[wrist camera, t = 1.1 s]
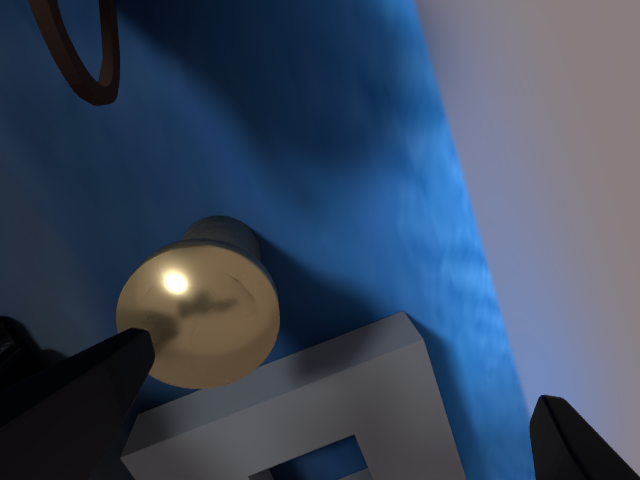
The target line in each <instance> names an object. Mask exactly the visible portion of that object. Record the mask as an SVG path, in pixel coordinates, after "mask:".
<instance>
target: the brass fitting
mask: <svg viewBox="0 0 640 480" xmlns="http://www.w3.org/2000/svg"><path fill="white" fill-rule="evenodd" d="M279 324H280V314H279V302H278V295H277V290H276V287H275V285H274V282H273V280H272V278H271V276H270V274H269V273H268V271H267V270H266V269H265V267H264V266H263V265H262V264H261V263H260V246H259V243H258V240H257V238H256V236H255V234H254V233H253V231H252V230H251V229H250V228H249V227H248V226H247V225H245V224H244V223H242V222H241V221H239V220H237V219H235V218H232V217H228V216H210V217H206V218H203V219H201V220H199V221H197V222H196V223H194V224H193V225H192V226H191V227H190V228H189V229H188V230H187V231H186V232H185V234H184V235H183V237H182V239H181V240H180V241H178V242H174V243H171V244H169V245H167V246H165V247H162V248H161V249H159V250H157V251H156V252H154V253H153V254H151V255H150V256H149V257H148V258H147V259H145V260H144V262H143V263H142V264H141V265H140V266H139V267H138V268H137V270H136V271H135V272H134V273H133V275H132V276H131V277H130V279H129V280H128V282H127V283H126V285H125V286H124V288H123V290H122V292H121V294H120V297H119V301H118V304H117V311H116V325H117V330H118V334H119V333H121V332H123V331H125V330H127V329H129V328H132V327H136V328H142V329H147V330H148V331H149V332H150V334H151V338H152V342H153V346H154V351H155V361H154V364H153V366H152V368H151V370H150V372H149V375H151V376H152V377H154V378H156V379H158V380H160V381H162V382H165V383H168V384H170V385H173V386H178V387H182V388H190V389H207V388H215V387H220V386H224V385H227V384H230V383H233V382H235V381H237V380H240V379H242V378H243V377H245V376H247V375H248V374H250V373H251V372H252V371H254V370H255V369H256V368H257V367H258V366H259V365H260V364H261V363H262V362H263V361H264V360H265V359H266V357H267V356H268V355H269V353H270V352H271V350H272V348H273V346H274V344H275V341H276V339H277V335H278V331H279Z"/></svg>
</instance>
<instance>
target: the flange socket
mask: <svg viewBox="0 0 640 480" xmlns="http://www.w3.org/2000/svg"><path fill="white" fill-rule="evenodd" d="M351 435H355V437H356V440H357V442H358V444H359V447H360V449H361V451H362V454H363V456H364V459H365V461H366V463H367V466H368V468H366V469H363V470H361V471H358V472H356V473H353V474H351V475H348V476H346V477H343V478H341V479H338V480H466V476H465V473H464V470H463V467H462V463H461V460H460V457H459V454H458V450H457V447H456V444H455V440H454V437H453V434H452V431H451V427H450V424H449V421H448V418H447V414H446V411H445V408H444V405H443V401H442V398H441V395H440V391H439V388H438V385H437V382H436V378H435V375H434V372H433V369H432V365H431V362H430V359H429V355H428V352H427V349H426V346H425V342H424V339H423V338H422V336H421V335H420V334H419V332H418V331H417V329H416V328H415V327H414V325H413V324H412V322H411V321H410V320H409V318H408V317H407V315H406V314H405V313H404V311H402V312H399V313H397V314H394V315H392V316H389V317H386V318H384V319H381V320H379V321H376V322H374V323H371V324H368V325H366V326H363V327H361V328H358V329H356V330H353V331H350V332H348V333H345V334H343V335H340V336H338V337H335V338H332V339H330V340H327V341H325V342H322V343H320V344H317V345H315V346H312V347H309V348H307V349H304V350H302V351H299V352H297V353H294V354H291V355H289V356H286V357H284V358H281V359H279V360H276V361H273V362H271V363H268V364H266V365H263V366H261V367H258V368H256V369H255V370H254V371H252V372H251V373H250V374H248V375H247V376H245V377H243V378H242V379H240V380H237V381H235V382H233V383H230V384H227V385H224V386H220V387H215V388H207V389H202V390H199V391H196V392H194V393H191V394H189V395H186V396H184V397H181V398H178V399H176V400H173V401H171V402H168V403H166V404H163V405H161V406H158V407H155V408H153V409H150V410H148V411H145V412H143V413H140V414H138V415H137V418H136V420H135V423H134V425H133V428H132V430H131V433H130V435H129V437H128V440H127V442H126V445H125V447H124V450H123V452H122V454H121V457H120V459H121V460H122V462H123V463H124V464H125V466H126V467H127V469H128V470H129V471H130V473H131V474H132V476H133V477H134V479H135V480H274V478H273V476H272V474H271V472H270V470H269V468H270V467H273V466H275V465H278V464H280V463H283V462H285V461H288V460H290V459H293V458H296V457H298V456H301V455H303V454H306V453H308V452H311V451H313V450H316V449H318V448H321V447H323V446H326V445H328V444H331V443H333V442H336V441H338V440H341V439H344V438H346V437H349V436H351Z"/></svg>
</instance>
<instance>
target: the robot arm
mask: <svg viewBox="0 0 640 480" xmlns="http://www.w3.org/2000/svg"><path fill="white" fill-rule="evenodd" d="M154 361H155V351H154V346H153V342H152V338H151V334H150V332H149V331H148V330H147V329H142V328H136V327H132V328H129V329H127V330H125V331H123V332H121V333H119V334H117V335H115V336H112V337H110V338H108V339H106V340H104V341H102V342H100V343H98V344H96V345H94V346H92V347H90V348H88V349H86V350H84V351H82V352H80V353H77V354H75V355H73V356H71V357H69V358H67V359H65V360H63V361H61V362H59V363H57V364H55V365H53V366H51V367H49V368H47V369H44V370H43V369H42V368H41V366H40V365H39V364H38V362H37V361H36V359H35V358H34V357H33V355H32V354H31V353H30V351H29V350H28V348H27V347H26V346H25V344H24V343H23V341H22V340H21V339H20V337H19V336H18V335H17V333H16V332H15V330H14V329H13V328H12V326H11V325H10V323H9V322H8V321H7V320H6V319H5V318H4V317H2V316H0V480H86V479H87V478H88V476H89V475H90V473H91V471H92V470H93V468H94V467H95V465H96V464H97V462H98V461H99V459H100V457H101V456H102V454H103V453H104V451H105V450H106V448H107V447H108V445H109V443H110V442H111V440H112V439H113V437H114V436H115V434H116V433H117V431H118V429H119V428H120V426H121V425H122V423H123V421H124V420H125V418H126V416H127V414H128V412H129V411H130V409H131V407H132V405H133V403H134V401H135V399H136V397H137V395H138V393H139V391H140V389H141V387H142V385H143V383H144V381H145V380H146V378H147V376H148V374H149V372H150V370H151V368H152V366H153V364H154ZM529 429H530V439H531V446H532V454H533V461H534V468H535V476H536V480H640V477H639V476H638V475H637V474H636V473H635V472H634V471H633V470H632V469H631V468H630V466H629V465H628V464H627V463H626V462H625V461H624V460H623V459H622V458H621V457H620V456H619V455H618V454H617V453H616V452H615V451H614V450H613V449H612V448H611V447H610V446H609V445H608V444H607V442H606V441H605V440H604V439H603V438H602V437H601V436H600V435H599V434H598V433H597V432H596V431H595V430H594V429H593V428H592V427H591V426H590V425H589V424H588V423H587V422H586V421H585V420H584V419H583V418H582V417H581V415H579V413H578V412H577V411H576V410H575V409H574V408H573V407H572V406H571V405H570V404H569V403H568V402H567V401H566V400H564V399H563V398H561V397H555V396H549V395H541V396H540V397H539V399H538V401H537V404H536V407H535V409H534V412H533V415H532V418H531V420H530V427H529Z"/></svg>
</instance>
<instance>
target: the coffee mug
mask: <svg viewBox="0 0 640 480" xmlns="http://www.w3.org/2000/svg"><path fill="white" fill-rule="evenodd" d="M28 1H29V4H30V7H31V9H32V12H33V15H34V17H35V20H36V22H37V24H38V26H39V29H40V31H41V34H42V36H43V38H44V40H45V42H46V44H47V46H48V49H49V51H50V53H51V55H52V57H53V59H54V61H55V62H56V64H57V66H58V68H59V69H60V71H61V73H62V74H63V76H64V77H65V79H66V81H67V82H68V84H69V85H70V87H71V88H72V89H73V91H74V92H75V93H76V94H77V95H78V96H79V97H80V98H82V99H83V100H85V101H87V102H89V103H91V104H92V105H94V106H100V105H106V104H111V103H113V102H114V101H115V100H116V98H117V94H118V88H119V81H120V50H119V37H118V26H117V15H116V5H115V0H99V10H100V22H101V36H102V51H103V60H102V67H101V70H100V77H99V81H98V82H97V81H96V80H94V78H93V77H92V76H91V75H90V74H89V72H88V71H87V69H86V68H85V66H84V65H83V63H82V61H81V59H80V58H79V56H78V54H77V52H76V50H75V48H74V46H73V44H72V42H71V40H70V38H69V36H68V34H67V31H66V28H65V26H64V24H63V20H62V17H61V14H60V10H59V7H58V3H57V0H28Z"/></svg>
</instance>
